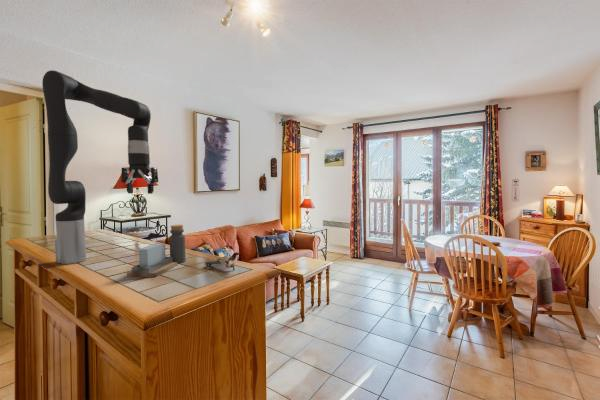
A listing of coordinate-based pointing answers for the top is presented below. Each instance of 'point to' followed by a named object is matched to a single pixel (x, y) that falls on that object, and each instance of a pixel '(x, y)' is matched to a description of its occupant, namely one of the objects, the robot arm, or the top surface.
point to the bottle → (177, 244)
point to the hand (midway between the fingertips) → (140, 193)
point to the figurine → (224, 261)
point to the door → (151, 254)
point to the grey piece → (153, 268)
